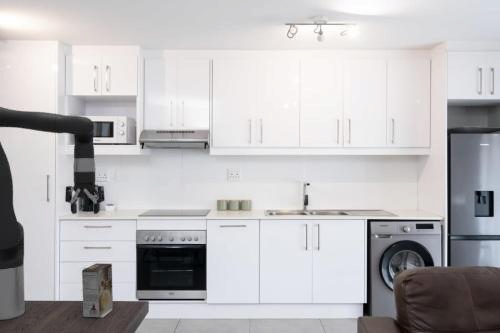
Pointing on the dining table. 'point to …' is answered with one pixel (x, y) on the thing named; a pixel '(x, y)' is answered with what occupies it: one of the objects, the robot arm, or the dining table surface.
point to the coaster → (103, 314)
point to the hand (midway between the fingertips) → (85, 213)
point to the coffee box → (97, 289)
